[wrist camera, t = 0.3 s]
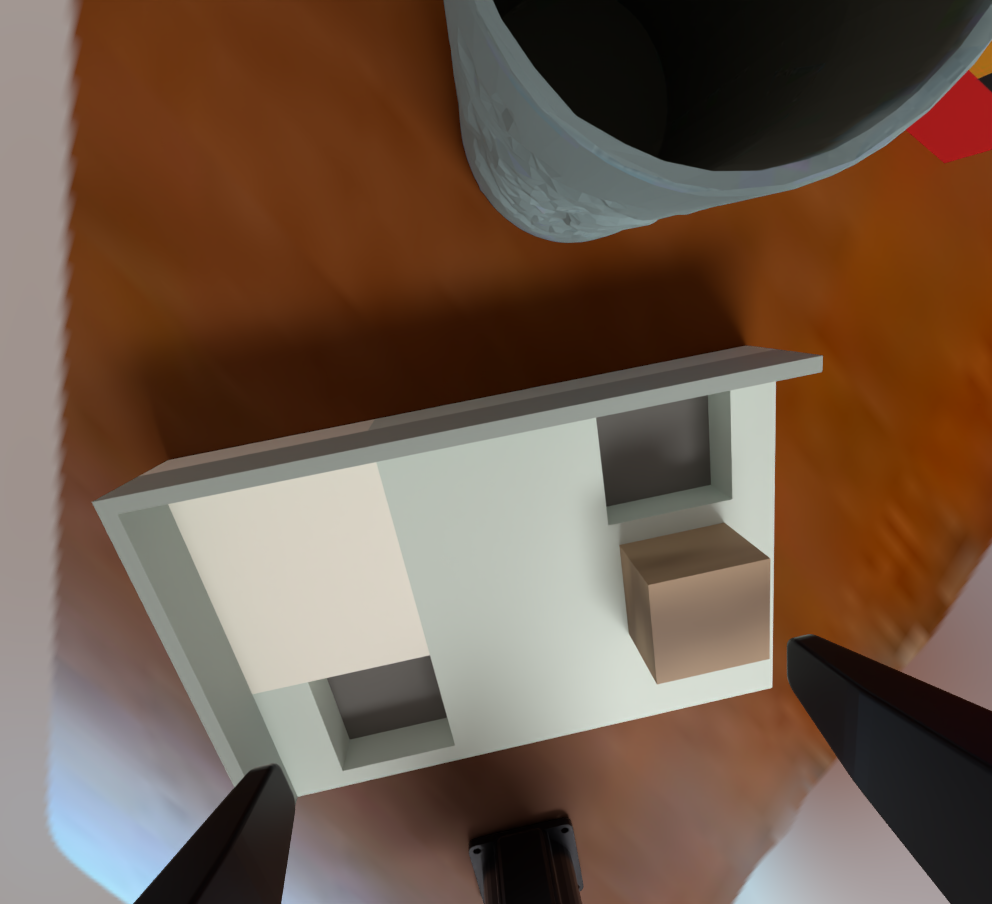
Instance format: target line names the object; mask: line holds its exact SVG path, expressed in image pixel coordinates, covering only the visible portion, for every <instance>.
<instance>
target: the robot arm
mask: <svg viewBox="0 0 992 904" xmlns="http://www.w3.org/2000/svg"><path fill="white" fill-rule="evenodd" d="M787 677H788V681H789V684H790V686H791V688H792V690H793V692H794V693H795V695H796V696H797V698H798V699H799V701H800V702H801V704H802V705H803V707H804V708H805V710H806V711H807V713H808V714H809V716H810V717H811V719H812V720H813V722H814V723H815V725H816V726H817V728H818V729H819V731H820V732H821V734H822V735H823V737H824V738H825V740H826V741H827V743H828V744H829V746H830V747H831V749H832V750H833V752H834V753H835V755H836V756H837V758H838V759H839V761H840V762H841V763H842V765H843V766H844V768H845V769H846V771H847V772H848V774H849V775H850V777H851V778H852V779H853V781H854V782H855V783H856V785H857V786H858V787H859V789H860V790H861V791H862V793H863V794H864V795H865V796H866V798H867V799H868V800H869V802H870V803H871V804H872V805H873V807H874V808H875V809H876V810H877V812H878V813H879V814H880V815H881V817H882V818H883V819H884V820H885V822H886V823H887V824H888V826H889V827H890V828H891V829H892V831H893V832H894V833H895V834H896V835H897V837H898V838H899V839H900V841H901V842H902V843H903V844H904V846H905V847H906V848H907V849H908V851H909V852H910V853H911V855H912V856H913V857H914V858H915V860H916V861H917V862H918V863H919V865H920V866H921V867H922V868H923V870H924V871H925V872H926V873H927V875H928V876H929V877H930V878H931V880H932V881H933V882H934V883H935V885H936V886H937V887H938V889H939V890H940V891H941V892H942V894H943V895H944V896H945V897H946V898H947V900H948V901H949V902H950V904H992V711H990V710H988V709H986V708H983V707H981V706H979V705H976V704H974V703H971V702H969V701H967V700H965V699H963V698H960V697H958V696H956V695H953V694H951V693H949V692H946V691H944V690H942V689H939V688H937V687H935V686H932V685H930V684H927V683H925V682H923V681H921V680H918V679H916V678H914V677H912V676H909V675H907V674H904V673H902V672H900V671H898V670H895V669H893V668H891V667H888V666H886V665H884V664H881V663H879V662H877V661H874V660H872V659H870V658H867V657H865V656H863V655H861V654H858V653H856V652H854V651H851V650H849V649H847V648H844V647H842V646H840V645H837V644H835V643H833V642H830V641H828V640H826V639H823V638H821V637H819V636H816V635H812V634H808V635H804V636H799V637H795V638H792V639H790V640H789V641H788V643H787ZM294 815H295V799H294V795H293V792H292V790H291V788H290V786H289V784H288V782H287V780H286V777H285V775H284V773H283V771H282V769H281V767H280V766H279V765H278V764H277V763H271V764H267V765H263V766H259V767H255V768H253V769H251V770H250V771H249V772H248V773H247V774H246V775H245V776H244V777H243V778H242V779H241V781H240V782H239V783H238V784H237V785H236V786H235V787H234V789H233V790H232V791H231V792H230V793H229V794H228V795H227V797H226V798H225V799H224V800H223V801H222V802H221V803H220V805H219V806H218V807H217V808H216V809H215V810H214V812H213V813H212V814H211V815H210V816H209V817H208V818H207V820H206V821H205V822H204V823H203V824H202V825H201V826H200V828H199V829H198V830H197V831H196V832H195V833H194V835H193V836H192V837H191V838H190V839H189V840H188V841H187V843H186V844H185V845H184V846H183V847H182V848H181V849H180V851H179V852H178V853H177V854H176V855H175V856H174V857H173V859H172V860H171V861H170V862H169V863H168V864H167V866H166V867H165V868H164V869H163V870H162V871H161V872H160V874H159V875H158V876H157V877H156V878H155V879H154V880H153V882H152V883H151V884H150V885H149V886H148V887H147V888H146V890H145V891H144V892H143V893H142V894H141V895H140V897H139V898H138V899H137V900H136V901H135V902H134V903H133V904H281V901H282V894H283V887H284V881H285V874H286V868H287V861H288V855H289V848H290V841H291V835H292V828H293V822H294ZM469 855H470V858H471V862H472V865H473V869H474V872H475V875H476V879H477V882H478V886H479V889H480V892H481V896H482V899H483V903H484V904H582V901H581V897H580V891H581V890H582V889H583V881H582V875H581V870H580V865H579V859H578V854H577V848H576V843H575V837H574V832H573V827H572V823H571V820H570V819H569V818H560V819H556V820H552V821H547V822H543V823H539V824H535V825H531V826H526V827H522V828H518V829H514V830H509V831H505V832H501V833H497V834H493V835H488V836H484V837H480V838H476V839H473V840H471V841H470V842H469Z"/></svg>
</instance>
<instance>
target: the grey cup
mask: <svg viewBox="0 0 992 904" xmlns="http://www.w3.org/2000/svg"><path fill="white" fill-rule="evenodd" d="M444 7H445V14H446V21H447V28H448V35H449V43H450V47H451V56H452V64H453V73H454V79H455V85H456V91H457V97H458V104H459V116H460V126H461V134H462V140H463V145H464V149H465V153H466V157H467V160H468V163H469V165H470V168H471V170H472V173H473V175H474V177H475V179H476V181H477V183H478V185H479V187H480V190H481V191H482V192H483V193H484V194H485V196H486V197H487V199H488V200H489V201H490V203H491V204H492V205H493V206H494V208H495V209H496V210H497V211H499V212H500V213H501V214H502V215H503V216H504V217H505V218H506V219H507V220H509V221H510V222H511V223H513V224H514V225H516V226H517V227H518V228H520V229H522V230H524V231H526V232H528V233H530V234H532V235H534V236H536V237H540V238H543V239H546V240H550V241H555V242H565V243H571V242H585V241H590V240H594V239H598V238H601V237H605V236H608V235H612V234H614V233H617V232H619V231H621V230H625V229H630V228H635V227H641V226H646V225H650V224H652V223H654V222H656V221H657V220H658V219H661V218H665V217H669V216H674V215H686V214H690V213H693V212H696V211H699V210H704V209H708V208H710V207H715V206H720V205H725V204H729V203H734V202H738V201H743V200H747V199H752V198H756V197H761V196H765V195H770V194H774V193H779V192H783V191H788V190H792V189H796V188H799V187H801V186H804V185H807V184H810V183H813V182H815V181H818V180H821V179H824V178H827V177H829V176H832V175H834V174H836V173H838V172H840V171H842V170H844V169H846V168H848V167H850V166H853V165H855V164H856V163H858V162H859V161H861V160H863V159H864V158H866V157H868V156H869V155H871V154H873V153H874V152H876V151H877V150H879V149H881V148H882V147H884V146H886V145H887V144H888V143H890V142H891V141H892V140H893V139H895V138H896V137H897V136H898V135H900V134H901V133H902V132H903V131H905V130H906V129H907V128H908V127H910V126H911V125H912V124H913V123H915V122H916V121H917V120H918V119H920V118H921V117H922V116H923V115H925V114H926V113H927V112H928V111H930V110H931V108H932V107H933V106H934V105H935V104H936V103H937V102H938V101H939V100H940V99H941V98H942V97H943V96H944V95H945V94H946V93H947V92H948V91H949V90H950V89H951V88H952V87H953V86H954V84H955V83H956V82H957V81H958V80H959V79H960V78H961V77H962V76H963V75H964V74H965V73H966V72H967V71H968V70H969V69H970V68H971V67H972V66H973V65H974V64H975V62H976V61H977V60H978V58H979V57H980V56H981V54H982V53H983V52H984V50H985V49H986V47H987V46H988V45H989V43H990V42H991V41H992V0H444Z"/></svg>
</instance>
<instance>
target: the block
mask: <svg viewBox="0 0 992 904" xmlns="http://www.w3.org/2000/svg"><path fill="white" fill-rule="evenodd" d="M619 547H620V556H621V565H622V574H623V584H624V593H625V602H626V612H627V621H628V630H629V635H630V637H631V639H632V640H633V642H634V644H635V646H636V648H637V649H638V651H639V653H640V655H641V657H642V658H643V660H644V662H645V664H646V666H647V668H648V669H649V671H650V673H651V675H652V677H653V678H654V680H655V682H656V684H662V683H666V682H670V681H675V680H679V679H684V678H688V677H692V676H697V675H701V674H706V673H710V672H714V671H719V670H723V669H728V668H732V667H737V666H741V665H745V664H750V663H754V662H759V661H763V660H767V659H770V558H769V557H768V556H767V555H765V554H764V553H763V552H762V551H760V550H759V549H758V548H756V547H755V546H754V545H753V544H751V543H750V542H749V541H747V540H746V539H745V538H744V537H742V536H741V535H740V534H738V533H737V532H736V531H735V530H733V529H732V528H731V527H730V526H728V525H727V524H726V523H720V524H716V525H711V526H706V527H701V528H697V529H692V530H687V531H683V532H678V533H673V534H669V535H664V536H659V537H655V538H650V539H645V540H641V541H636V542H631V543H627V544H622V545H619Z"/></svg>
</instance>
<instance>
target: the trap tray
mask: <svg viewBox="0 0 992 904" xmlns="http://www.w3.org/2000/svg"><path fill="white" fill-rule="evenodd" d="M822 365H823V355H815V354H808V353H800V352H792V351H785V350H777V349H770V348H762V347H755V346H747V345H746V346H741V347H736V348H731V349H726V350H721V351H716V352H711V353H706V354H701V355H696V356H691V357H686V358H681V359H676V360H671V361H666V362H660V363H655V364H650V365H645V366H640V367H635V368H630V369H625V370H620V371H615V372H610V373H605V374H600V375H595V376H590V377H585V378H580V379H575V380H570V381H565V382H560V383H555V384H550V385H544V386H539V387H534V388H529V389H524V390H519V391H514V392H509V393H504V394H499V395H494V396H489V397H484V398H479V399H474V400H469V401H464V402H459V403H454V404H449V405H444V406H439V407H434V408H428V409H423V410H418V411H413V412H408V413H403V414H398V415H393V416H388V417H383V418H378V419H373V420H368V421H363V422H358V423H353V424H348V425H343V426H338V427H333V428H328V429H323V430H317V431H312V432H307V433H302V434H297V435H292V436H287V437H282V438H277V439H272V440H267V441H262V442H257V443H252V444H247V445H242V446H237V447H232V448H227V449H222V450H217V451H212V452H207V453H201V454H196V455H191V456H186V457H181V458H176V459H171V460H167V461H166V462H164V463H162V464H160V465H158V466H157V467H155V468H153V469H151V470H149V471H147V472H146V473H144V474H142V475H140V476H138V477H137V478H135V479H133V480H131V481H129V482H128V483H126V484H124V485H122V486H120V487H118V488H117V489H115V490H113V491H111V492H109V493H108V494H106V495H104V496H102V497H100V498H99V499H97V500H95V501H93V502H92V503H93V505H94V507H95V509H96V511H97V513H98V515H99V517H100V519H101V521H102V523H103V525H104V527H105V529H106V531H107V533H108V535H109V537H110V539H111V541H112V543H113V545H114V547H115V549H116V551H117V553H118V555H119V557H120V559H121V561H122V563H123V565H124V567H125V569H126V571H127V573H128V575H129V577H130V579H131V581H132V583H133V585H134V587H135V589H136V591H137V593H138V595H139V597H140V599H141V601H142V603H143V605H144V607H145V609H146V611H147V613H148V615H149V617H150V619H151V621H152V623H153V625H154V627H155V629H156V631H157V633H158V635H159V637H160V639H161V641H162V643H163V645H164V647H165V649H166V651H167V653H168V655H169V657H170V659H171V661H172V663H173V665H174V667H175V669H176V671H177V673H178V675H179V677H180V679H181V681H182V683H183V685H184V687H185V689H186V691H187V693H188V695H189V697H190V699H191V701H192V703H193V705H194V707H195V709H196V711H197V713H198V715H199V717H200V719H201V721H202V723H203V725H204V727H205V729H206V731H207V733H208V735H209V737H210V739H211V741H212V743H213V745H214V747H215V749H216V751H217V753H218V755H219V757H220V759H221V761H222V763H223V765H224V767H225V769H226V771H227V773H228V775H229V777H230V779H231V781H232V783H233V785H234V787H235V786H236V785H237V784H238V783H239V782H240V781H241V779H242V778H243V777H244V776H245V775H246V774H247V773H248V772H249V771H250V770H251V769H253V768H255V767H259V766H263V765H267V764H271V763H277V764H278V765H279V766H280V767H281V769H282V771H283V773H284V775H285V777H286V780H287V782H288V784H289V786H290V788H291V790H292V792H293V795H294V799H295V804H296V801H297V797H299V796H303V795H307V794H312V793H316V792H320V791H325V790H329V789H334V788H338V787H342V786H347V785H351V784H355V783H360V782H364V781H368V780H373V779H377V778H381V777H386V776H390V775H394V774H399V773H403V772H408V771H412V770H416V769H421V768H425V767H429V766H434V765H438V764H442V763H447V762H451V761H455V760H460V759H464V758H468V757H473V756H477V755H482V754H486V753H490V752H495V751H499V750H503V749H508V748H512V747H516V746H521V745H525V744H529V743H534V742H538V741H542V740H547V739H551V738H555V737H560V736H564V735H569V734H573V733H577V732H582V731H586V730H590V729H595V728H599V727H603V726H608V725H612V724H616V723H621V722H625V721H629V720H634V719H638V718H643V717H647V716H651V715H656V714H660V713H664V712H669V711H673V710H677V709H682V708H686V707H690V706H695V705H699V704H703V703H708V702H712V701H717V700H721V699H725V698H730V697H734V696H738V695H743V694H747V693H751V692H756V691H760V690H764V689H769V688H772V660H773V577H774V494H775V411H776V381H780V380H785V379H790V378H795V377H800V376H805V375H810V374H814V373H819V372H822ZM720 523H726V524H727V525H728V526H730V527H731V528H732V529H733V530H735V531H736V532H737V533H738V534H740V535H741V536H742V537H744V538H745V539H746V540H747V541H749V542H750V543H751V544H753V545H754V546H755V547H756V548H758V549H759V550H760V551H762V552H763V553H764V554H765V555H767V556H768V557H769V558H770V659H767V660H763V661H759V662H754V663H750V664H745V665H741V666H737V667H732V668H728V669H723V670H719V671H714V672H710V673H706V674H701V675H697V676H692V677H688V678H684V679H679V680H675V681H670V682H666V683H662V684H656V682H655V680H654V678H653V677H652V675H651V673H650V671H649V669H648V668H647V666H646V664H645V662H644V660H643V658H642V657H641V655H640V653H639V651H638V649H637V648H636V646H635V644H634V642H633V640H632V639H631V637H630V635H629V630H628V621H627V612H626V602H625V593H624V584H623V574H622V565H621V556H620V547H619V545H622V544H627V543H631V542H636V541H641V540H645V539H650V538H655V537H659V536H664V535H669V534H673V533H678V532H683V531H687V530H692V529H697V528H701V527H706V526H711V525H716V524H720Z"/></svg>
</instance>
